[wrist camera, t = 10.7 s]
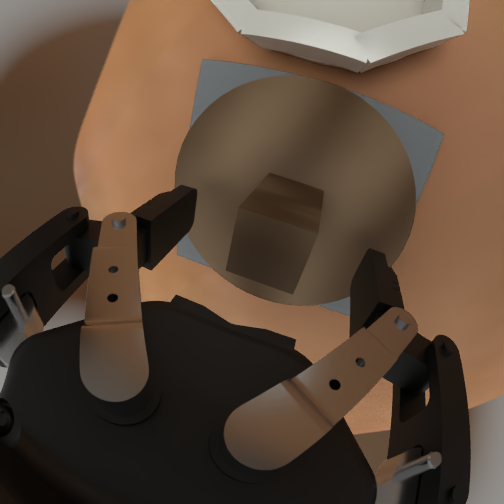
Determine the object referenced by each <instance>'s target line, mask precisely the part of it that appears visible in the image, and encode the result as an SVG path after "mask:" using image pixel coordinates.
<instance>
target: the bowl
mask: <svg viewBox="0 0 504 504" xmlns="http://www.w3.org/2000/svg"><path fill="white" fill-rule="evenodd" d="M211 1H212V2H213V4H214V5H215V6H216V7H217V8H218V9H219V10H220V12H221V13H222V14H223V15H224V16H225V17H226V19H227V20H228V21H229V22H230V23H231V25H232V26H233V27H234V28H235V30H236V31H237V32H238V33H240V34H241V35H243V36H245V37H246V38H248V39H249V40H251V41H252V42H254V43H255V44H257V45H258V46H260V47H262V48H264V49H270V50H275V51H280V52H285V53H287V54H289V55H292V56H294V57H297V58H299V59H303V60H306V61H309V62H312V63H317V64H321V65H326V66H333V67H341V68H345V69H348V70H351V71H354V72H357V73H358V72H359V71H360V72H361V73H362V72H365V71H367V70H369V69H372V68H374V67H377V66H380V65H384V64H388V63H391V62H395V61H397V60H399V59H401V58H404V57H406V56H407V55H410V54H413V53H416V52H419V51H422V50H426V49H429V48H432V47H436V46H438V45H441V44H443V43H445V42H447V41H449V40H452V39H454V38H456V37H459V36H461V35H463V34H464V33H465V32H466V30H467V22H468V12H469V0H211Z"/></svg>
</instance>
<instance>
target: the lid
mask: <svg viewBox="0 0 504 504" xmlns="http://www.w3.org/2000/svg"><path fill="white" fill-rule="evenodd" d="M180 185H185V186H188V187H192V188H195V189H197V202H196V210H195V218H194V223H193V226H192V228H191V230H190V231H189V232H188V233H187V235H188V237H189V239H190V240H191V242H192V244H193V245H194V247H195V248H196V250H197V251H198V252H199V254H200V255H201V256H202V258H203V259H204V260H205V261H206V262H207V263H208V264H209V265H210V266H211V267H212V268H213V269H214V270H215V271H216V272H217V273H218V274H219V275H221V276H222V277H223V278H224V279H226V280H227V281H229V282H230V283H232V284H233V285H234V286H236V287H238V288H240V289H242V290H243V291H245V292H247V293H249V294H252V295H254V296H257V297H259V298H262V299H265V300H269V301H272V302H277V303H282V304H288V305H319V304H326V303H331V302H335V301H339V300H342V299H344V298H347V297H350V286H351V282H352V279H353V276H354V274H355V272H356V270H357V268H358V267H359V265H360V263H361V261H362V259H363V257H364V255H365V253H366V251H367V250H368V249H369V248H372V249H374V250H377V251H379V252H382V253H384V254H385V256H386V260H387V264H388V267H391V266H392V265H393V264H394V262H395V261H396V260H397V258H398V257H399V255H400V253H401V252H402V250H403V248H404V246H405V244H406V242H407V240H408V238H409V235H410V232H411V229H412V225H413V222H414V215H415V208H416V187H415V181H414V175H413V170H412V167H411V164H410V161H409V157H408V155H407V153H406V151H405V148H404V146H403V144H402V142H401V140H400V139H399V137H398V136H397V134H396V133H395V131H394V130H393V128H392V127H391V126H390V124H389V123H388V122H387V121H386V120H385V119H384V118H383V116H382V115H381V114H380V113H379V112H378V111H377V110H376V109H375V108H373V107H372V106H371V105H370V104H368V103H367V102H366V101H364V100H363V99H362V98H360V97H359V96H357V95H355V94H354V93H352V92H350V91H348V90H346V89H345V88H342V87H340V86H337V85H335V84H332V83H330V82H327V81H323V80H319V79H315V78H310V77H302V76H275V77H267V78H263V79H258V80H254V81H251V82H248V83H246V84H243V85H241V86H238V87H236V88H234V89H232V90H230V91H229V92H227V93H225V94H224V95H222V96H220V97H219V98H218V99H217V100H215V101H214V102H213V103H212V104H210V105H209V106H208V107H207V108H206V109H205V110H204V111H203V112H202V114H201V115H200V116H199V117H198V118H197V119H196V121H195V122H194V124H193V125H192V127H191V128H190V130H189V131H188V133H187V135H186V137H185V140H184V142H183V144H182V147H181V150H180V153H179V156H178V160H177V166H176V171H175V188H176V187H178V186H180Z"/></svg>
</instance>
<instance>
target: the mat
mask: <svg viewBox="0 0 504 504" xmlns="http://www.w3.org/2000/svg"><path fill="white" fill-rule="evenodd" d="M275 76H300V75H296V74H292V73H287V72H283V71H279V70H274V69H269V68H264V67H258V66H253V65H247V64H240V63H233V62H225V61H217V60H206V59H203V60H202V64H201V69H200V74H199V79H198V84H197V89H196V95H195V100H194V106H193V112H192V118H191V124H190V128H191V127H192V125H193V124H194V122H195V121H196V119H197V118H198V117H199V116H200V115H201V114H202V112H203V111H204V110H205V109H206V108H207V107H208V106H209V105H210V104H212V103H213V102H214V101H215V100H217V99H218V98H219V97H220V96H222V95H224V94H225V93H227V92H229V91H230V90H232V89H234V88H236V87H238V86H241V85H243V84H246V83H248V82H251V81H254V80H258V79H263V78H267V77H275ZM302 77H304V76H302ZM346 90H347V89H346ZM348 91H349V90H348ZM350 92H352V91H350ZM352 93H354V94H355V95H357V96H359V97H360V98H362V99H363V100H364V101H366V102H367V103H368V104H370V105H371V106H372V107H373V108H375V109H376V110H377V111H378V112H379V113H380V114H381V115H382V116H383V118H384V119H385V120H386V121H387V122H388V123H389V124H390V126H391V127H392V128H393V130H394V131H395V133H396V134H397V136H398V137H399V139H400V140H401V142H402V144H403V146H404V148H405V151H406V153H407V155H408V157H409V161H410V164H411V167H412V170H413V175H414V181H415V187H416V203H417V201H418V199H419V197H420V194H421V192H422V190H423V188H424V185H425V183H426V181H427V178H428V176H429V173H430V171H431V168H432V166H433V163H434V161H435V158H436V155H437V153H438V150H439V147H440V144H441V142H442V139H443V136H444V133H442V132H440V131H438V130H437V129H435V128H433V127H431V126H429V125H427V124H425V123H424V122H422V121H420V120H418V119H416V118H414V117H412V116H410V115H408V114H405V113H403V112H401V111H399V110H397V109H395V108H392V107H390V106H388V105H385V104H383V103H381V102H378V101H376V100H373V99H371V98H368V97H366V96H363V95H360V94H358V93H355V92H352ZM177 255H179V256H182V257H185V258H187V259H190V260H193V261H195V262H198V263H200V264H203V265H206V266H208V267H211V266H210V265H209V264H208V263H207V262H206V261H205V260H204V259H203V258H202V256H201V255H200V254H199V252H198V251H197V250H196V248H195V247H194V245H193V244H192V242H191V240H190V239H189V237H188V235H187V234H186V235H185V236H184V237H183V238H182V239H181V240H180V241H179V242H178V245H177ZM211 268H212V267H211ZM319 306H321V307H324V308H327V309H331V310H334V311H337V312H340V313H343V314H346V315H349V316H350V297H347V298H344V299H342V300H339V301H335V302H331V303H326V304H319Z"/></svg>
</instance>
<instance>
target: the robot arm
mask: <svg viewBox="0 0 504 504" xmlns="http://www.w3.org/2000/svg"><path fill="white" fill-rule="evenodd" d="M196 202H197V189H195V188H192V187H188V186H185V185H180V186H178V187H176V188H175V189H173V190H172V191H170V192H169V191H168V192H165V193H161V194H158V195H157V196H155V197H154V198H152V200H149V201H148V202H146V203H145V204H143V205H142V206H140V207H139V208H137V209H136V210H134V211H133V212H131V213H127V212H116V213H112V214H109V215H107V216H106V217H105V218H104V219H103V221H96V220H89V216H88V210H87V209H86V208H84V207H71V208H67V209H65V210H63V211H62V212H60V213H59V214H57V215H56V216H54V217H53V218H52V219H50V220H49V221H47V222H46V223H45V224H43V225H42V226H41V227H39V228H38V229H37V230H35V231H34V232H32V233H31V234H30V235H29V236H27V237H26V238H25V239H24V240H22V241H21V242H20V243H18V244H17V245H16V246H15V247H13V248H12V249H11V250H10V251H9V252H7V253H6V254H5V255H4V256H3V257H2V258H1V259H0V366H1V367H8V371H7V375H6V379H5V382H4V385H3V388H2V391H1V393H0V504H466V501H467V499H468V494H469V483H470V459H471V456H470V454H471V449H470V425H469V412H468V403H467V395H466V387H465V381H464V375H463V369H462V364H461V359H460V354H459V350H458V348H457V346H456V345H455V343H454V342H453V341H452V340H451V339H450V338H448V337H447V336H445V335H438V336H436V337H435V338H434V340H433V341H432V342H431V341H430V340H428V339H426V338H425V337H423V336H422V335H420V334H419V333H417V332H418V325H417V322H416V320H415V319H414V317H413V316H412V315H411V314H410V313H409V312H407V311H406V310H404V305H403V300H402V296H401V292H400V287H399V283H398V279H397V276H396V274H395V272H394V271H393V269H392V268H391V267H388V264H387V260H386V256H385V254H384V253H382V252H379V251H377V250H374V249H372V248H369V249H368V250H367V251H366V253H365V255H364V257H363V259H362V261H361V263H360V265H359V267H358V268H357V270H356V272H355V274H354V276H353V279H352V282H351V286H350V338H349V339H347V340H346V341H345V342H344V343H342V344H341V345H340V346H338V347H337V348H336V349H334V350H333V351H332V352H330V353H329V354H327V355H326V356H325V357H323V358H322V359H320V360H319V361H318V362H316V363H315V364H312V363H311V362H310V361H309V360H308V359H307V358H306V357H305V356H304V355H302V354H301V353H300V352H298V351H297V350H295V349H294V347H295V342H296V339H293V338H290V337H287V336H284V335H281V334H278V333H275V332H272V331H269V330H266V329H260V328H253V327H247V326H240V325H234V324H231V323H229V322H227V321H226V320H224V319H223V318H221V317H220V316H218V315H217V314H215V313H214V312H212V311H211V310H209V309H208V308H206V307H205V306H203V305H200V304H198V303H195V302H193V301H190V300H188V299H185V298H183V297H181V296H178V295H175V297H174V298H173V299H172V301H171V302H165V301H147V302H141V294H140V281H139V269H140V268H141V267H145V268H147V269H149V270H152V269H153V268H154V267H155V266H156V265H157V264H158V263H159V262H160V261H161V260H162V259H163V258H164V257H165V256H166V255H167V254H168V253H169V252H170V251H171V250H172V249H173V247H174V246H175V245H176V244H177V243H178V242H179V241H180V240H181V239H182V238H183V237H184V236H185V235H186V234H187V233H188V232H189V231H190V230H191V228H192V226H193V223H194V218H195V210H196ZM63 248H64V250H65V255H66V259H64V260H63V261H62V262H61V263H60V264H59V265H58V266H57V267H56V268H55V269H54V270H52V269H51V262H52V259H53V257H54V256H55V255H56V254H57V253H58V252H59V251H61V250H62V249H63ZM88 277H89V279H88V287H87V288H88V289H87V297H86V309H85V319H84V320H81V321H77V322H74V323H71V324H67V325H64V326H61V327H57V328H54V329H50V330H47V331H43V327H44V326H45V325H46V324H47V322H48V321H49V320H50V319H51V318H52V317H53V315H54V314H55V313H56V312H57V311H58V309H59V308H60V307H61V306H62V305H63V304H64V303H65V302H66V301H67V300H68V298H69V297H70V296H71V295H72V294H73V293H74V292H75V291H76V290H77V289H78V288H79V287H80V285H81V284H82V283H83V282H84V281H85V280H86V279H87V278H88ZM382 377H383V378H384V379H386V380H388V381H390V382H391V383H393V401H392V418H391V430H390V440H389V448H388V456H387V460H386V461H384V462H383V463H382V464H381V465H380V467H379V469H378V471H377V474H376V476H375V475H374V473H373V471H372V469H371V467H370V465H369V464H368V462H367V460H366V458H365V456H364V454H363V452H362V451H361V449H360V447H359V445H358V443H357V441H356V439H355V438H354V436H353V434H352V432H351V430H350V428H349V426H348V425H347V423H346V421H345V419H344V416H345V415H346V414H347V413H348V412H349V411H350V410H351V409H352V408H353V407H354V406H355V405H356V404H357V403H358V402H359V401H360V400H361V399H362V398H363V397H364V396H365V395H366V394H367V393H368V392H369V391H370V390H371V389H372V388H373V387H374V386H375V385H376V384H377V383H378V382H379V380H380V379H381V378H382ZM428 388H429V391H430V399H429V402H428V404H427V406H426V404H425V391H426V390H427V389H428Z"/></svg>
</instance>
